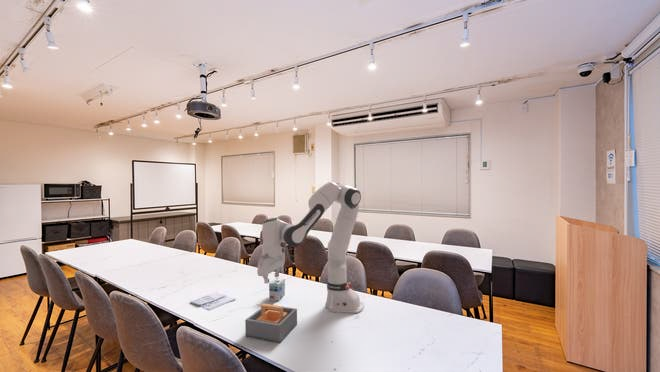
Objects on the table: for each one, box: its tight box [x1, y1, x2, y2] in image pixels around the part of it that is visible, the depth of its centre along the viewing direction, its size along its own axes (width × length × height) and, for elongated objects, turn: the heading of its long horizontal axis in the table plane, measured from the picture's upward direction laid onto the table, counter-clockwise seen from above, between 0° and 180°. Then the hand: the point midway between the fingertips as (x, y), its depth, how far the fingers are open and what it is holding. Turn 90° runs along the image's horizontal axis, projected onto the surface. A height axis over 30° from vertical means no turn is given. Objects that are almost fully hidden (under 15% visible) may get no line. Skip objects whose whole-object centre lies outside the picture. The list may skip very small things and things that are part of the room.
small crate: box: [256, 303, 288, 324], centre depth 135 cm, size 11×11×11 cm
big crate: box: [244, 306, 298, 344], centre depth 135 cm, size 18×18×8 cm
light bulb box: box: [268, 277, 286, 302], centre depth 176 cm, size 11×7×11 cm, turn 169°
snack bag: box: [189, 291, 237, 311], centre depth 171 cm, size 19×20×2 cm
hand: (272, 279), depth 135 cm, fingers open, 8 cm apart
